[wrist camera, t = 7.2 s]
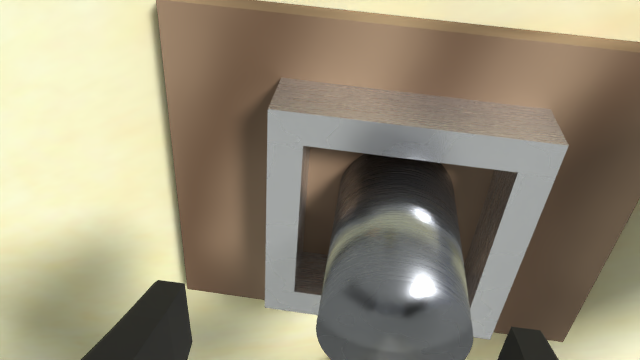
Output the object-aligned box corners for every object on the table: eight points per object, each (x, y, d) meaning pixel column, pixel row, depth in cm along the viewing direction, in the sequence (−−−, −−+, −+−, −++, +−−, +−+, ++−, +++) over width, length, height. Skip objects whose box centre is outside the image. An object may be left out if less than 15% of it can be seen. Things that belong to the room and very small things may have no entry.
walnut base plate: (698, 48, 17) (713, 60, 17) (557, 324, 26) (562, 341, 25) (166, -10, 18) (156, -2, 18) (194, 274, 27) (187, 288, 26)
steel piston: (462, 151, 20) (487, 290, 14) (444, 242, 22) (459, 392, 16) (341, 141, 20) (317, 272, 14) (337, 232, 23) (315, 375, 17)
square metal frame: (550, 109, 18) (568, 145, 16) (482, 295, 24) (490, 339, 22) (281, 77, 19) (267, 109, 17) (275, 267, 24) (264, 307, 22)
